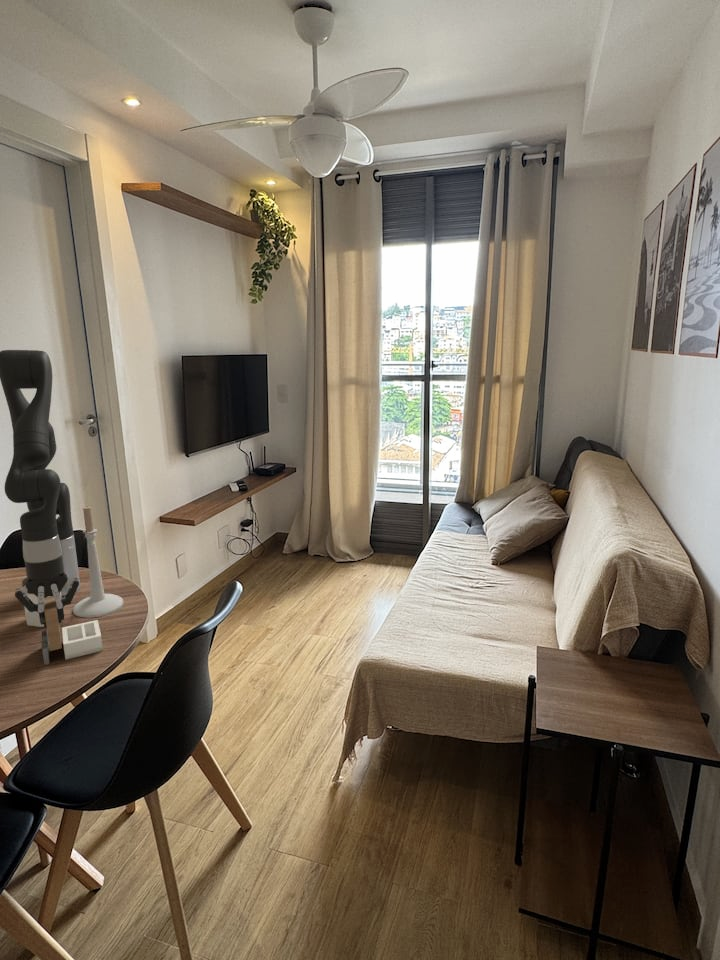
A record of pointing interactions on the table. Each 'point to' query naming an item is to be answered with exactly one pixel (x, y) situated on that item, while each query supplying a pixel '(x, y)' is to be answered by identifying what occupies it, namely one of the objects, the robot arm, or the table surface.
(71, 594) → the robot arm
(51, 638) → the door
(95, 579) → the candlestick
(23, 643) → the table surface
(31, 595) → the jar
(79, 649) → the cabinet
